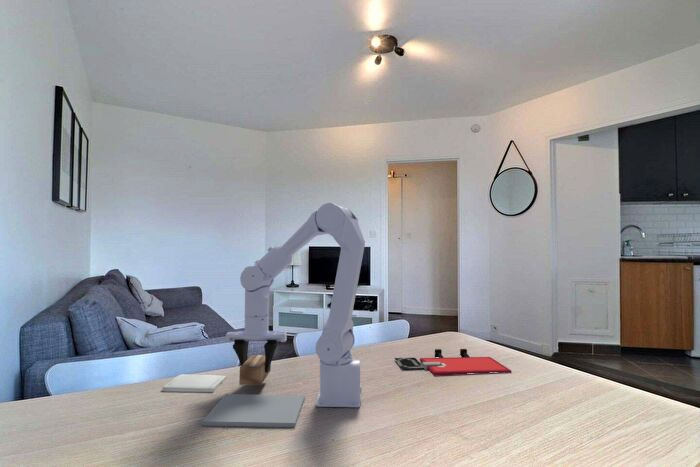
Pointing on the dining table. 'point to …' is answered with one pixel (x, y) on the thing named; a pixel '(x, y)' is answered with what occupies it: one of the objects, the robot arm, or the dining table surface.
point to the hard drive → (195, 383)
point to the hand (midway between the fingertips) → (256, 370)
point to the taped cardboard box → (253, 371)
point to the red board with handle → (454, 364)
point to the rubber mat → (256, 411)
